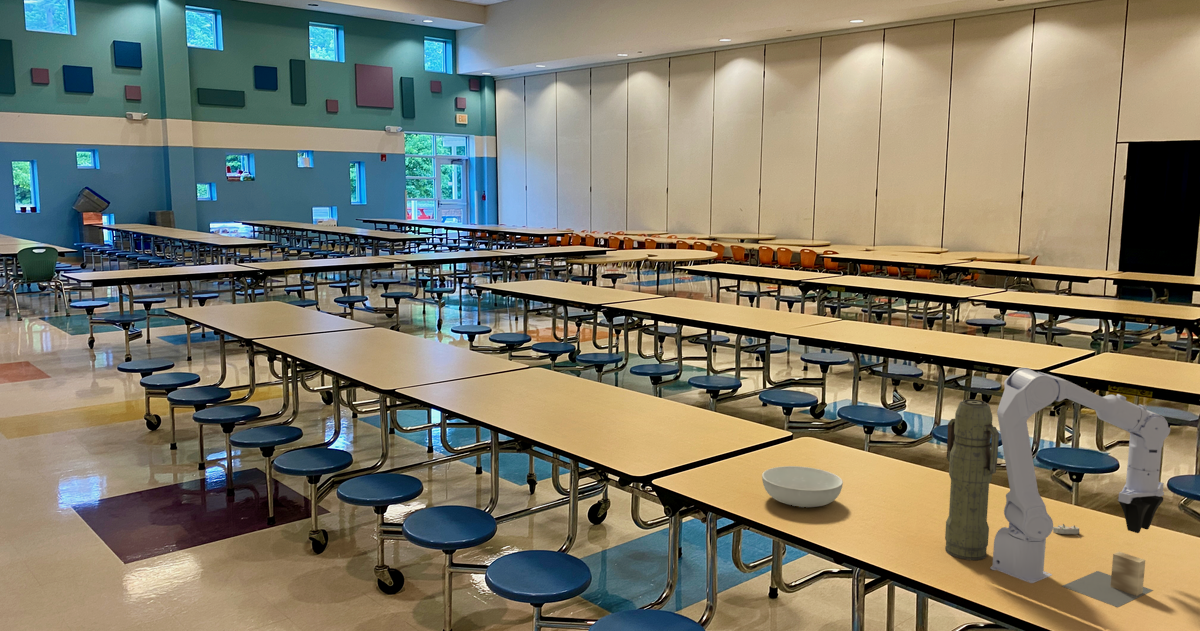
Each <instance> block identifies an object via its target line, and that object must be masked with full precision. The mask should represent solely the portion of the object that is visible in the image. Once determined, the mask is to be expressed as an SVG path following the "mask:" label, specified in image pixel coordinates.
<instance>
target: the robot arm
mask: <svg viewBox="0 0 1200 631" xmlns="http://www.w3.org/2000/svg"><path fill="white" fill-rule="evenodd" d="M1003 382H1004V390H1003V393H1002V396H1001V398H1000V400H999V404H998V406H997V407H998V408H997V412H996V415H997V420H998V427H999V431H1000V433H999V434H1000V437H1001V438H1000V439H1001V443H1002V451H1003V456H1004V462H1005V468H1006V474H1007V479H1008V486H1009V491H1008V492H1007V493H1006V494H1005V499H1006V502H1005V506H1004V510H1003V514H1004V518H1005V519H1006V521H1007V522H1008V527H1007V526H1005V527H1004V526H1003V527H1001V528H999V529H998V530H997V532H996V534H995V537H994V541H993V549H992V550H993V553H992V565H991V566H990V568H989V569H990V570H991V571H998V572H1001V573H1004V574H1006V575H1009V576H1011V577H1013V578H1017V579H1019V580H1021V581H1024V582H1027V583H1029V584H1035V583H1036V582H1039V581H1041V580H1043V579H1046V578H1049V577H1052V576H1053V574H1052V573H1049V572H1048V571H1044V569H1045V568H1044V567H1045V558H1046V557H1045V556H1046V555H1045V554H1046V543H1047V542H1046V540H1047V538H1048V537H1049V536H1050V535H1051V534H1052V533H1053V527H1054V521H1053V518H1052V517H1051V516H1050V514H1048V512H1047V508H1046V507H1047V505H1046V504H1045V502H1044V499H1043V498H1042V496H1041V495H1040V493H1039V490H1038V483H1037V476H1036V471H1035V470H1036V469H1035V464H1034V458H1033V451H1032V447H1031V440H1030V435H1029V427H1028V423H1027V422H1028V420H1029V418H1030V417H1032V415H1034V414H1036V413H1038V412H1039V411H1041V410H1042V409H1045V408H1046V407H1048V406H1050V405H1051V404H1052V403H1054V402H1061V401H1063V400H1065V399H1068V400H1069V401H1071V402H1075V403H1077V404H1079V405H1082V406H1084V407H1087V408H1089V409H1091V410H1094V411H1095V414H1096V416H1097V418H1098V419H1099V420H1101V421H1103V422H1106V423H1107V424H1110V425H1112V426H1114V427H1117V428H1119V429H1121V430H1123V431H1126V432H1127V433H1129V442H1128V454H1127V455H1128V456H1127V457H1128V458H1127V464H1126V465H1127V468H1126V477H1125V478H1126V479H1125V484H1124V486H1123V487H1122V489H1121V491H1119V493H1118V497H1117V502H1118V503H1119V505H1120V507H1121V508H1122V512H1123V514H1124V519H1125V523H1126V529H1127V531H1129V532H1133V533H1135V534H1139V533H1140V532H1141V530H1142V529H1144V530H1149V529H1150V527H1151V524H1152V522H1153V519H1154V518H1155V517H1154V516H1155V514H1156V511H1157V510H1158V508H1159V507H1160V505H1161V504H1162V503H1163V502H1164V497H1163V496H1165V492H1164V482H1160V473H1161V472H1160V471H1161V462H1162V461H1161V459H1162V448H1163V447H1164V442H1165V440H1166V439H1167V438H1168V436H1169V435H1170V433H1171V427H1169V424H1168V421H1167V420H1166V417H1164V416H1162V415H1160V414H1158V413H1157V412H1154V411H1150V410H1148V409H1147V408H1148V407H1147V406H1145V405H1142V404H1135V403H1133V402H1130V401H1128V400H1127V397H1126V396H1124V395H1121V394H1120V393H1117V394H1116V395H1115V394H1106V395H1105V396H1101V395H1099V394H1096V393H1094V392H1093V391H1090V390H1088V389H1086V388H1084V387H1081V386H1079V385H1078V384H1075V383H1073V382H1072V381H1069V380H1066V379H1064V378H1061V377H1059V376H1055V375H1052V374H1049V373H1044V372H1041V371H1035V370H1033V369H1031V368H1028V367H1020V368H1017V369H1015V370H1014V371H1013V372H1011V374H1010V375H1009V376H1008V377H1006V378H1005V380H1004V381H1003Z"/></svg>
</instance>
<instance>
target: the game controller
mask: <svg viewBox="0 0 1200 631" xmlns="http://www.w3.org/2000/svg"><path fill="white" fill-rule="evenodd" d="M1052 533H1055V534H1060V535H1074V536H1075V535H1078V534H1080V527H1079V526H1076V525H1074V524H1073V525H1072V526H1070V527H1069V526H1066V525H1065V524H1064V523H1062V525H1059V524H1058V525H1057V526H1053V530H1052ZM1079 539H1082V538H1081V537H1079Z"/></svg>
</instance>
